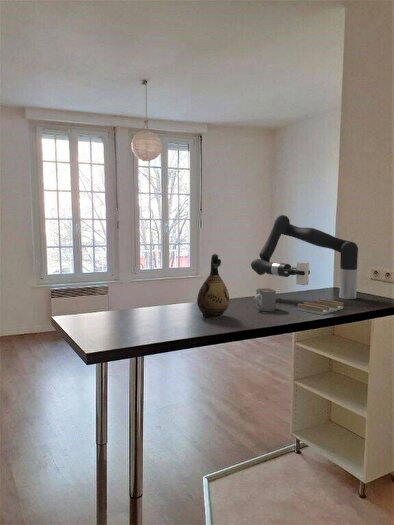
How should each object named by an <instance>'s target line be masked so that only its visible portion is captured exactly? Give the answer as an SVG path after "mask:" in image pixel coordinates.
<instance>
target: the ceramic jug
mask: <svg viewBox="0 0 394 525" xmlns="http://www.w3.org/2000/svg"><path fill="white" fill-rule="evenodd" d="M210 260H211V261H210V274H209V275H208V276H207V277H206V278H205V280H204V281H203V283H202V284H201V286H200V289H199V291H198V294H197V300H196V304H197V307H198V309H199V311H200V312H201V313H202V318H204V319H208V318H211V319H210V320H215V319H216V318H217V319H221V318H222V316H223V315H224V313H225V312H226V311H227V310H228V308H229V305H230V296H229V293H230V292H229V290H228V289H227V286H226V284H225V283H224V281H223V279H222V277H221V276H220V274H219V270H218V268H219V267H220V266H221V264H222V261H221V259H220V258H219V255H218V254H216V253H213V254H212V255H211V259H210ZM220 317H221V318H220ZM214 318H215V319H214Z"/></svg>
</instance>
